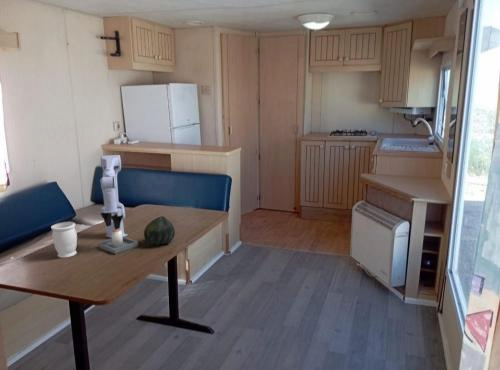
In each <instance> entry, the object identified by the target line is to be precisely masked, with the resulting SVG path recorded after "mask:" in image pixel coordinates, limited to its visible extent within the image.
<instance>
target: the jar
mask: <svg viewBox="0 0 500 370" xmlns="http://www.w3.org/2000/svg"><path fill="white" fill-rule="evenodd" d="M75 226H76V222H73V221H63V222H57V223H55V224H53V225H51V227H50V228H51V230H52V242H53V245H54V248H55V250H56V252H57V257H58V258H62V259H65V258H70V257H73V256H75V255H76V254H77V250H76V249H77V245H78V243H77V242H78V235H77V231H76V228H75Z"/></svg>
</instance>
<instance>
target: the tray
mask: <svg viewBox="0 0 500 370" xmlns="http://www.w3.org/2000/svg"><path fill="white" fill-rule="evenodd" d="M122 237H123V246H122V247H119V248H114V247H113V243H112V238H109V239H106V240H103V241H99V242H97V244H98V245H97V246H98V248H99V249H100V250H103V251H106V252H108V253H110V254H112V255H117V254H121V253H124V252H127V251H129V250H132V249H135V248H138V247H139V241H137V240H135V239H131V238H129V237H127V236H122Z"/></svg>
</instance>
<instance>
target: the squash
mask: <svg viewBox="0 0 500 370" xmlns="http://www.w3.org/2000/svg"><path fill="white" fill-rule="evenodd" d="M175 231H176V230H175V227H174V225H173V223H172V222H171V221H170V220H169V219H168V218H167V217H165V216H159V217H157V218H155V219H152V220H151V221H149V223H148V224H147V225H146V226H145V228H144V231H143V237H144V240H145V241H146V243H148V244H150V245H152V246H154V245H155V246H156V245H158V246H159V245H164V244H165V245H169V244H170V243H171V242H172V241H173V239H174V238H175V233H176V232H175Z"/></svg>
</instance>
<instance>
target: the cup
mask: <svg viewBox="0 0 500 370" xmlns="http://www.w3.org/2000/svg"><path fill="white" fill-rule="evenodd" d="M111 235H112V238H111V239H112V243H113V247H114V248H119V247H122V246H123V237H122V230H121V229H115V230H112V231H111Z"/></svg>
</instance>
